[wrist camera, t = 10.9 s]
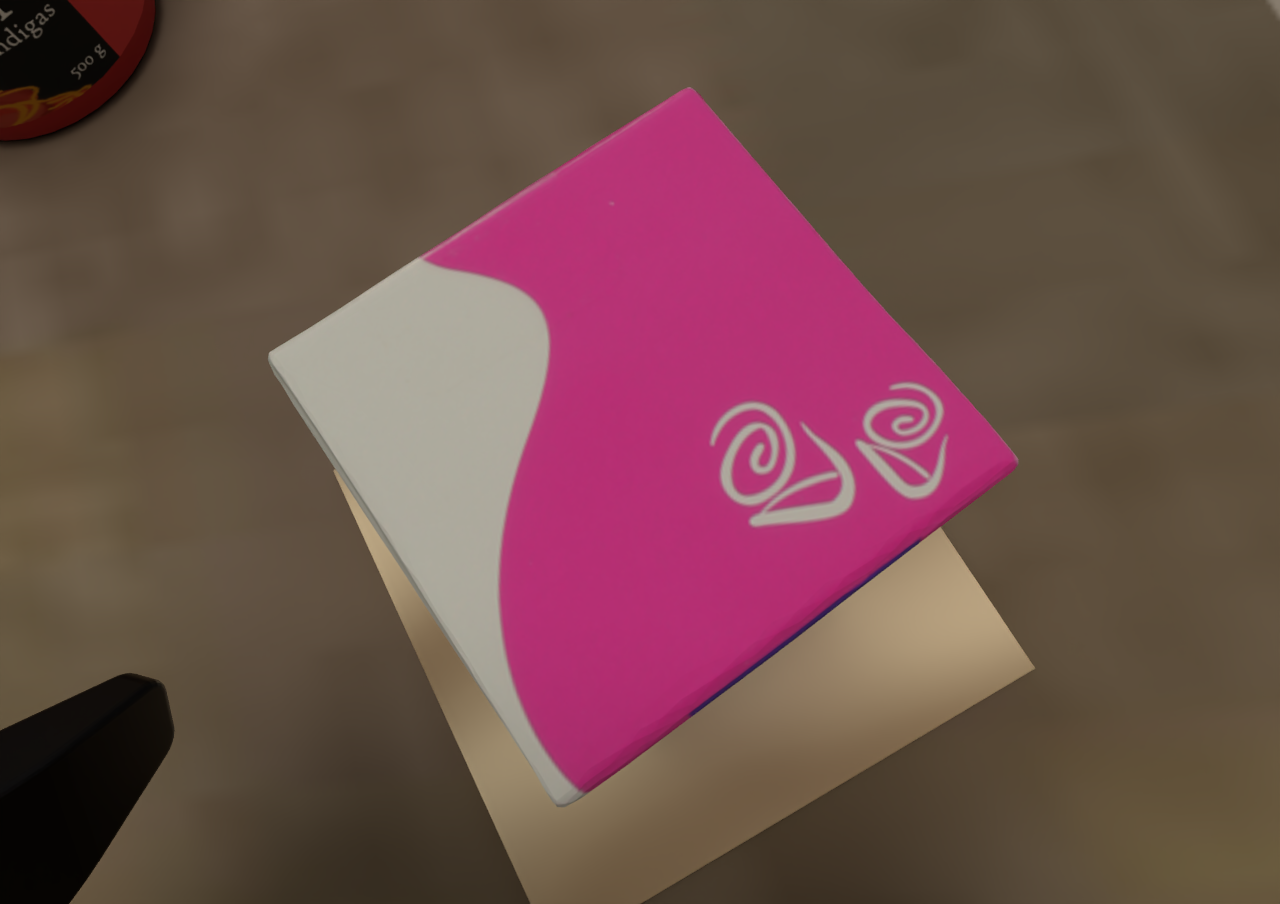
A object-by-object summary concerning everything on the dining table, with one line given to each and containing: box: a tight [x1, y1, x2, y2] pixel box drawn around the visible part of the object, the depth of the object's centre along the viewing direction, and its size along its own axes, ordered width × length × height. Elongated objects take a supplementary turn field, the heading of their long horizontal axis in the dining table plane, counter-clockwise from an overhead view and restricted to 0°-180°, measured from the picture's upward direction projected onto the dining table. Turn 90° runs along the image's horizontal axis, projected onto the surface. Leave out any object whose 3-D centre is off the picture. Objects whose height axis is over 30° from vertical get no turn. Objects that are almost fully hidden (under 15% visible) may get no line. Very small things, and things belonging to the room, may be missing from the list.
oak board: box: [333, 469, 1035, 904], centre depth 20 cm, size 12×12×1 cm
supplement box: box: [268, 87, 1018, 807], centre depth 14 cm, size 6×6×12 cm
